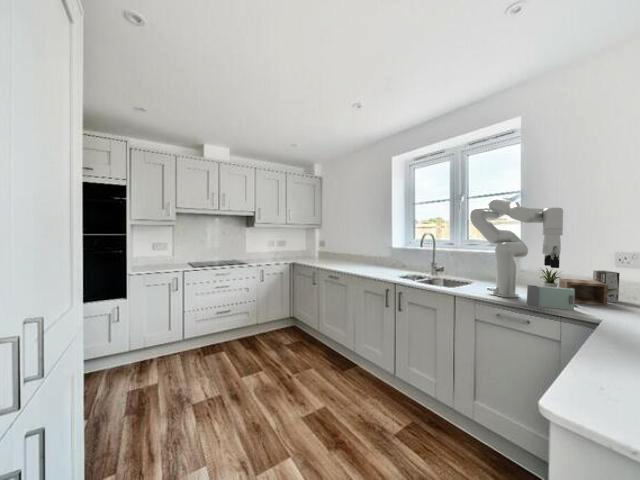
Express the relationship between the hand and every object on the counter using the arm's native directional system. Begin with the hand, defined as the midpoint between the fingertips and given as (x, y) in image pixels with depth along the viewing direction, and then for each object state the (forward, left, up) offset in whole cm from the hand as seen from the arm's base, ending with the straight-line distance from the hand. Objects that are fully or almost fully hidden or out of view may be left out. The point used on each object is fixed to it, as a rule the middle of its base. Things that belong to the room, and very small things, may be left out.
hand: (551, 266), depth 134 cm
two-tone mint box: (0, 0, -20) cm, 20 cm away
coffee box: (+32, +33, -21) cm, 50 cm away
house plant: (+9, +43, -21) cm, 49 cm away
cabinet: (+18, +18, -20) cm, 33 cm away
